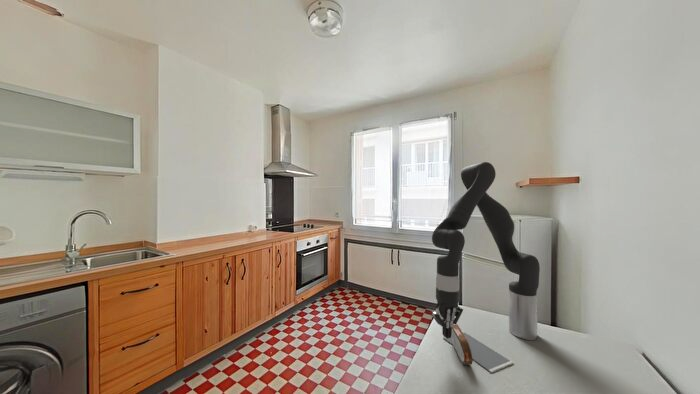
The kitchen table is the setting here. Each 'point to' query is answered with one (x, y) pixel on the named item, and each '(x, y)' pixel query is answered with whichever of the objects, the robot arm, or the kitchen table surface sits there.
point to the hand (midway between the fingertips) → (446, 336)
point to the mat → (485, 355)
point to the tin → (461, 345)
